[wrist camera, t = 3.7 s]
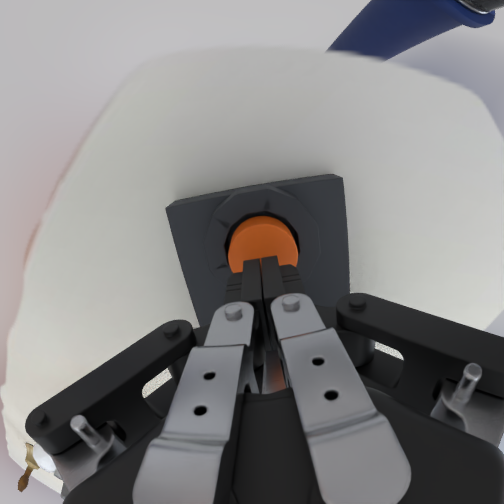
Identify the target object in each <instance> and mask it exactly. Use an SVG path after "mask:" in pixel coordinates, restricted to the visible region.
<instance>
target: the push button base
mask: <svg viewBox="0 0 504 504" xmlns="http://www.w3.org/2000/svg"><path fill="white" fill-rule="evenodd" d="M166 213H167V217H168V220H169V224H170V228H171V232H172V236H173V239H174V243H175V247H176V250H177V254H178V257H179V261H180V264H181V267H182V271H183V274H184V278H185V281H186V284H187V287H188V291H189V294H190V297H191V300H192V303H193V306H194V309H195V312H196V315H197V318H198V321H199V324H200V327H202V326H205V325H208V324H210V323H211V322H212V319H213V316H214V313H215V311H216V310H217V309H218V308H220V307H221V306H223V304H224V298H225V292H226V287H227V280H228V278H229V277H230V276H231V275H232V274H233V272H232V270H231V268H230V265H229V260H228V253H229V247H230V243H231V239H232V236H233V233H234V231H235V230H236V228H237V227H238V226H239V225H240V224H241V223H243V222H244V221H245V220H247V219H249V218H252V217H256V216H269V217H273V218H275V219H278V220H279V221H281V222H282V223H284V224H285V225H286V226H287V227H288V229H289V230H290V232H291V234H292V236H293V239H294V241H295V244H296V246H297V250H298V261H297V265H296V268H297V269H298V272H299V275H300V278H301V281H302V284H303V287H304V290H305V293H306V295H307V296H309V297H310V298H311V300H312V302H313V304H315V305H318V306H323V307H336V304H337V301H338V300H339V299H340V298H341V297H343V296H345V295H348V294H350V282H349V251H348V232H347V218H346V206H345V195H344V185H343V178H342V177H339V176H337V175H334V174H327V175H320V176H312V177H305V178H298V179H291V180H284V181H278V182H271V183H265V184H259V185H253V186H247V187H242V188H236V189H231V190H226V191H220V192H215V193H210V194H205V195H200V196H195V197H191V198H186V199H181V200H177V201H174V202H173V203H171V204H170V205H169V206H168V207H166Z"/></svg>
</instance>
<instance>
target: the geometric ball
mask: <svg viewBox="0 0 504 504" xmlns="http://www.w3.org/2000/svg"><path fill="white" fill-rule="evenodd" d="M33 457H34V459H35V461H36V463H37V464H38V466H39V467H41V468H42V469H44V470H45V471H47V472H55V470H56V466H55V464H54V462H53V460H52V458H51V457H50V456H49V455H48V454H47V453H46V452H45V451H44V450H43V448H42V447H41V446H40V445H39V444H38V443H37V444H35V445H34V446H33Z"/></svg>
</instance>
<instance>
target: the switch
mask: <svg viewBox="0 0 504 504" xmlns="http://www.w3.org/2000/svg"><path fill="white" fill-rule="evenodd" d="M275 255H277V258H278V262H279V266H281V265H287V264H292V265H293V266H295V267H296V265H297V261H298V250H297V246H296V244H295V241H294V239H293V236H292V234H291V232H290V230H289V229H288V227H287V226H286V225H285V224H284V223H282V222H281V221H279V220H278V219H275V218H273V217H269V216H256V217H252V218H249V219H247V220H245V221H244V222H243V223H241V224H240V225H239V226H238V227H237V228H236V230H235V231H234V233H233V236H232V239H231V243H230V247H229V253H228V260H229V265H230V268H231V270H232V272H233V273H237V272H243V261H245V260H251V259H257V258H260V263H261V258H263V257H269V256H275ZM261 268H262V267H261Z"/></svg>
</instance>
